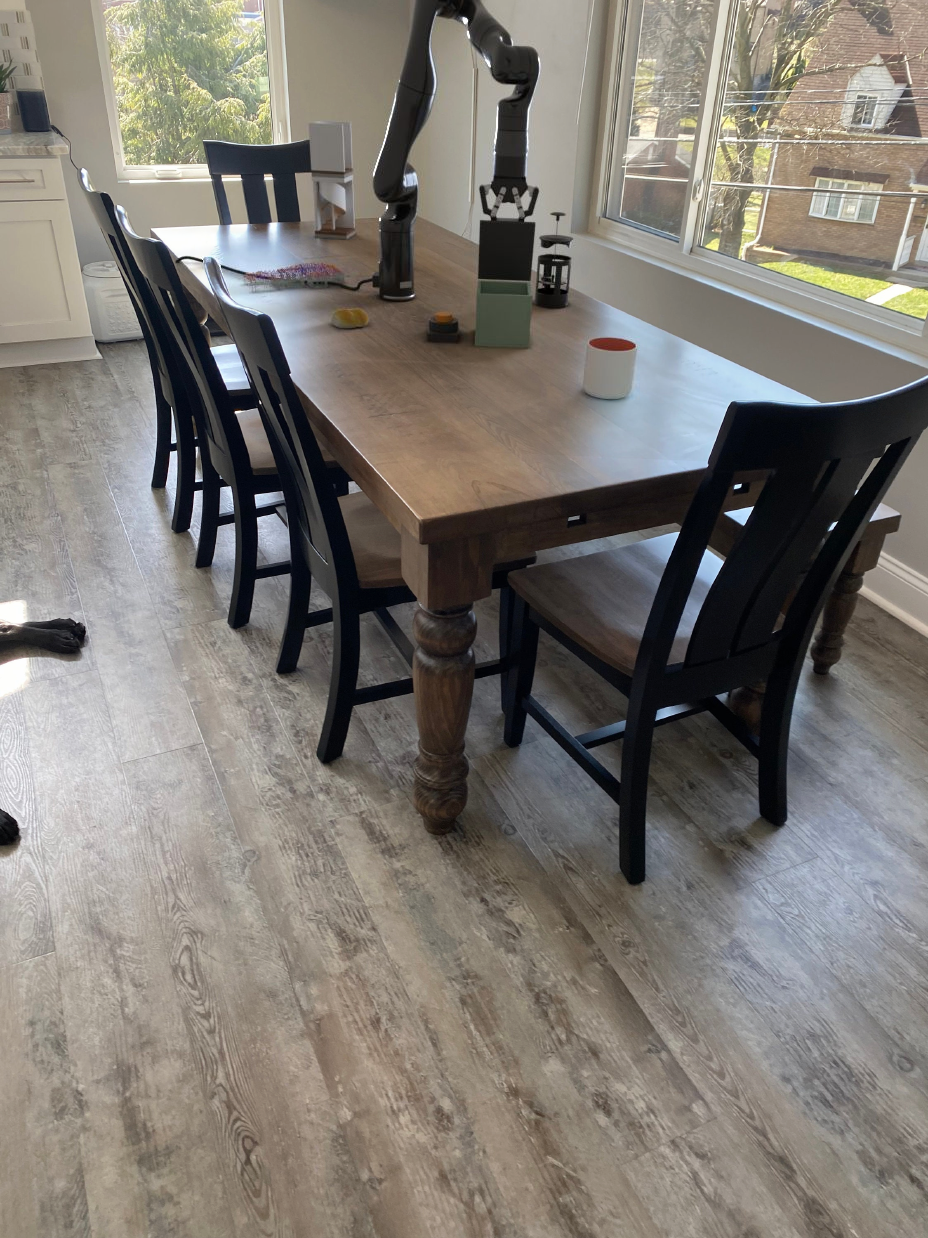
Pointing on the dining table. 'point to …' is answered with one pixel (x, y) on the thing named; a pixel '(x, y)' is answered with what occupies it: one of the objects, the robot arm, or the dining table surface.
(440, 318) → the button
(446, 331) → the block
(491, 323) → the sage green box
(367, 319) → the bread roll
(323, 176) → the white tower
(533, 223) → the lid
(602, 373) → the cup
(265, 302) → the dining table surface
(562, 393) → the dining table surface
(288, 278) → the multicoloured piece
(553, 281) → the french press
